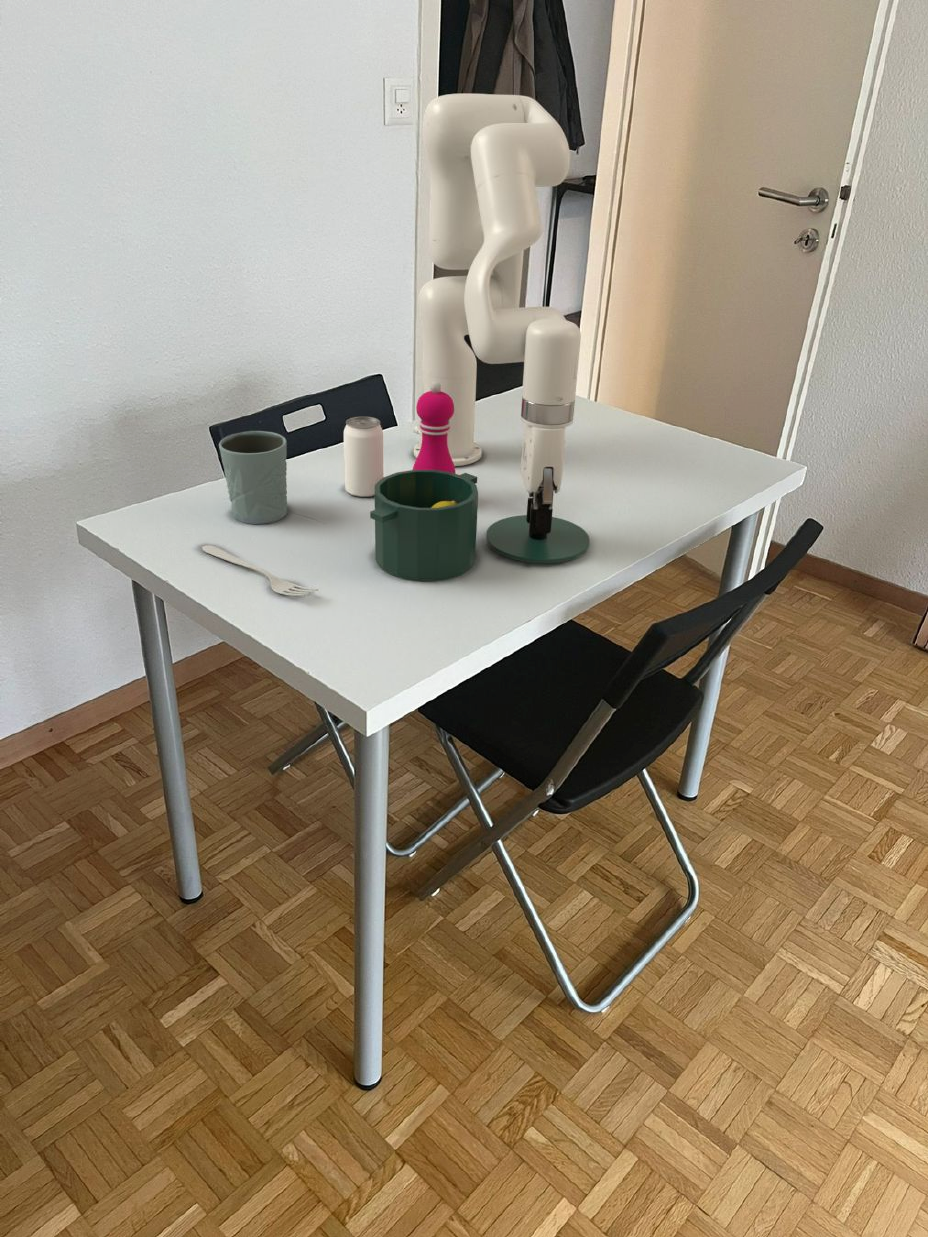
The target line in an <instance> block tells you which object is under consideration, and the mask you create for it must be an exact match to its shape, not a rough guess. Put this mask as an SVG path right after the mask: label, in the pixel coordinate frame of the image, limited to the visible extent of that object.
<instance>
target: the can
mask: <svg viewBox="0 0 928 1237" xmlns="http://www.w3.org/2000/svg"><path fill="white" fill-rule="evenodd" d="M343 462H344V463H343V465H344V466H343V468H344V490H345V491H346V492H347V493H348V494H349V495H351V496H353V497H358V498H371V497H375V484H376V483H377V482H379V481H380V480H381V479H382V478H383V477H384V431H383V427H382V426H381V421H380V419H378V418H376V417H371V416H354V417H350V418H349V419H346V421H345V426H344V429H343Z"/></svg>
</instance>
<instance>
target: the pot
mask: <svg viewBox="0 0 928 1237" xmlns="http://www.w3.org/2000/svg"><path fill="white" fill-rule="evenodd" d="M477 484H478V476H476V475H473V474H470V473H467V472H464V473H461V474H458V473H456V474H455V473H451V472H445V471H439V470H413V469H409V470H405V471H398V472H394V473H391V474H388V475H387V476H383V478H382V479H381V480H380V481H379V482H377V483H376V484H375V496H374V509H373V510H371V511H370V512H369V518H370V519H371V520H374V549H375V552H374V553H375V554H374V556H375V558H374V559H375V563H376V564H377V566H378V567H379V568H380V569H381V570H382V571H384V572H385V573H386V574H388V575H391V576H393V577H396V578H399V579H402V580H408V581H413V582H414V581H415V582H439V581H446V580H451V579H454V578H457V577H459V576H462V575H464V574H466V573H468V571H470V569H471V568H473V566H474V564H475V561H476V554H477V553H476V552H477V534H478V532H477V531H478V530H477V529H478V527H477V526H478V509H479V491H478V490H479V489H478V486H477ZM442 501H450V502H451V501H455V502H456V503H457V504H456V505H451V506H445V507H439V508H431V507H432V506H433V505H435V504H436V503H438V502H442Z"/></svg>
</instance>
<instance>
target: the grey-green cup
mask: <svg viewBox="0 0 928 1237" xmlns="http://www.w3.org/2000/svg"><path fill="white" fill-rule="evenodd" d="M287 442H288V441H287V439H286V438H285V436H283V435H281V434H279V433H276V432H273V431H263V430H248V431H241V432H236V433H232V434H230V435H227V436H225V437H224V438H221V440H220V441H219V443H218V448H219V452H220V457H221V463H222V466H223V469H224V471H223V472H224V476H225V481H226V487H227V492H228V495H229V497H228V498H229V501H230V503H231V512H232V515H233V518H234V519H235V520H236V521H237V522H238V521H239V522H241V523H244V524H249V525H266V524H270V523H271V524H272V523H275V522H278V521H279V520H282V519H284V517H286V515H287V513H288V496H287V494H288V491H287V487H288V485H287V483H288V482H287V475H288V474H287V470H288V468H287V464H288V463H287V444H288V443H287Z"/></svg>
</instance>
